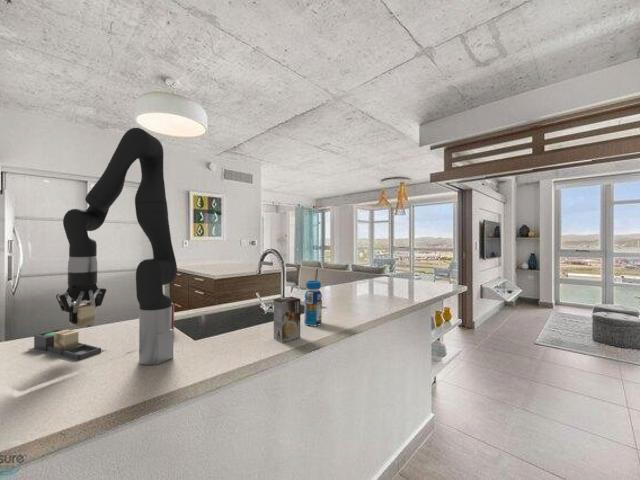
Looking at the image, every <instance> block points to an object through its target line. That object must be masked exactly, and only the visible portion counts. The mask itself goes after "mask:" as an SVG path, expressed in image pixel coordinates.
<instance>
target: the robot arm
mask: <svg viewBox="0 0 640 480" xmlns="http://www.w3.org/2000/svg"><path fill="white" fill-rule="evenodd" d="M137 159H138V160H139V164H140V165H139V166H140V172H141V178H140V183H139V185H138V188H137V190H136V193H135V196H134V206H135V207H134V208H135V215H136V216H135V217H136V220H137V223H138V225H139V227H140V228H141V230H142V231H143V232H144V234H145V236H146V237H147V238H148V241H149V242H150V244H151V245H150V246H151V249H152V258H146V259H144V260H141V261H140V262H139V264H138V265H137V268H136V271H135V287H136V288H135V289H136V299H137V302H138V304H139V309H138V310H139V315H138V316H139V319H138V322H139V323H138V325H139V326H138V329H139V330H138V333H139V335H138V336H139V337H138V355H139V356H138V363H139V364H141V365H146V366H151V365H156V366H158V365H160V364H163V363H164V362H167V361H169V360H172V359H173V358H174V339H175V338H174V337H175V336H174V333H175V331H174V330H175V329H174V330H173V329H171V321H172V303H173V300H172V297H171V296H170V295H165V294H164V292H163V286H165V285H169V284H171V283H173V282H174V281H175V280H176V278H177V275H178V265H177V261H176V255H175V253H174V248H173V243H172V237H171V235H172V234H171V230H170V229H171V228H170V221H169V211H168V202H167V194H166V186H165V180H164V179H165V178H164V177H165V176H164V147H163V144H162V142H161V141H160V139H159V138H158V137H156V136H154V135H153V134H151V133H149V131H147V130H145V129H143V128H140V127H133V128H130V129H128V130H127V131H125V133H124V134H123V136H122V137H121V139H120V140H119V142H118V145H117V146H116V149H115V151H114V152H113V155H112V156H111V158H110V160H109V162H108V164H107V166H106V168H105V170H104V171H103V173H102V174H101V176H100V177H99V179H98V180H97V181H96V183H95V184H94V185H93V187H92V188H91V189H90V190H89V192H88V193H86V196H85V202H86V203H87V204H88V207H87V209H82V208H71V209H69V210H67V212H66V213H65V214H64V216H63V219H62V220H63V221H62V225H63V229H64V233H65V235H66V239H67V241H68V245H69V246H68V256H69V257H68V261H67V262H68V263H67V289H66V292H63V293H61V294H59V293H58V294H56V295H55V298H56V300H57V302H58V305H59V307H60V309H61V311H62V312H66V313H68V320H69V321H68V323H69V322H71V324H77V310H78V307H79V305H80V304H82V302H83V301H84V303H85V304H88V305H94V306H95V309H96V308H97V307H100V306H102V303H103V301H104V298H105V295H106V293H107V288H104V287H99V286H98V285H97V284H98V259H97V257H98V256H97V255H98V254H97V252H98V250H97V247H98V246H97V245H98V244H97V240H96V239H94V238H90V236H89V233H88V232H93V231H96V230H98V229H100V227H102V225H103V224H104V222H105V220H106V218H107V215H108V213H109V210H110V208H111V206H112V205H114V203H115V201H117V199H118V198H119V197H120V195H121V193H122V191H123V189H124V186H125V181H126V176H127V174H128V171H129V169H130V167H131V166H132V165H133V163H135V162H136V161H137ZM94 295H95V297H94ZM69 297H70V300H69V303H68V298H69Z"/></svg>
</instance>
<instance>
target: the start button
mask: <svg viewBox="0 0 640 480" xmlns="http://www.w3.org/2000/svg"><path fill="white" fill-rule="evenodd" d="M54 333H55V332H51V333H47V334H45V335H44V336H47V337H49V336H53V335H54Z"/></svg>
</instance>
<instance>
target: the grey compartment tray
mask: <svg viewBox="0 0 640 480" xmlns="http://www.w3.org/2000/svg"><path fill="white" fill-rule="evenodd" d="M63 330H64V329H60V328H57V329H55V330H54V329H53V330H49V331H45V332H41V333H37V334H34V335H33V339H34V340H33V347H31V348H27V350H29V351H31V352H35V353H39V354H42V355H45V356H46V355H47V356H49V357H51V358H52V357H53V358H56V359H59V360H63V361H65V362H66V361H67V362H70V363H75V362H78V361H81V360H83V359H87V358H90V357H92V356H96V355H98V354H100V353H105V352H106V351H107V350H105V349H102V348H101V347H98V346H95V345H91V344H85V343H83V342H79V341H78V346H75V347H72V348H68V349H65V350H61V349H58V348H54V335H53V336H49V337H47V336H44V335H45V334H47V333H51V332H59V331H63Z"/></svg>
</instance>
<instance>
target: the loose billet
mask: <svg viewBox="0 0 640 480" xmlns="http://www.w3.org/2000/svg"><path fill="white" fill-rule="evenodd" d="M95 309H96V308H95V306H94V305H88V304H86V303H80V305H79V307H78V310H77V324H71V322H69V321H68V323H69V325H71V326H74V327H79V328H82V327H87V326H90V325H94V324H95V319H96V318H95V315H96V314H95V313H96V312H95Z"/></svg>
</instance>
